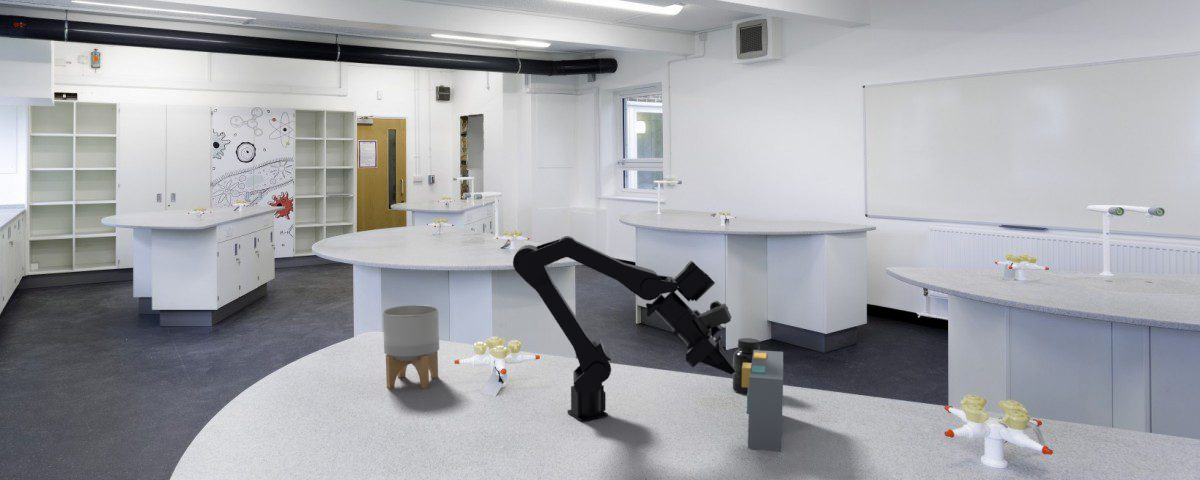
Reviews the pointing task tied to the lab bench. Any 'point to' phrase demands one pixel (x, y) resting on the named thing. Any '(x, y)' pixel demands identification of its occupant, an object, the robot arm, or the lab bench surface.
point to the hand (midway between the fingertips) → (733, 372)
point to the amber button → (746, 374)
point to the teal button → (748, 401)
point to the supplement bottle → (743, 361)
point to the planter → (411, 342)
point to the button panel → (765, 401)
